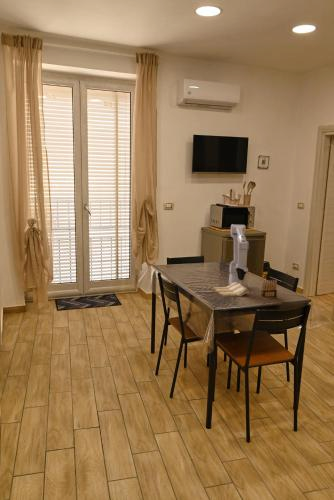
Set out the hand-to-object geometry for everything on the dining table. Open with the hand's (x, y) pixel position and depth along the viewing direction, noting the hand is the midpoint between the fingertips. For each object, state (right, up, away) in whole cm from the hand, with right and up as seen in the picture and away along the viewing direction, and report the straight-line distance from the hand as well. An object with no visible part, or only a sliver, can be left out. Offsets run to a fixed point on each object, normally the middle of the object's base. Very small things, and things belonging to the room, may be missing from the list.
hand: (240, 279), depth 265 cm
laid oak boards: (-11, -9, -1) cm, 14 cm away
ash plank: (-2, -7, +1) cm, 8 cm away
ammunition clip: (+17, -11, -4) cm, 21 cm away
